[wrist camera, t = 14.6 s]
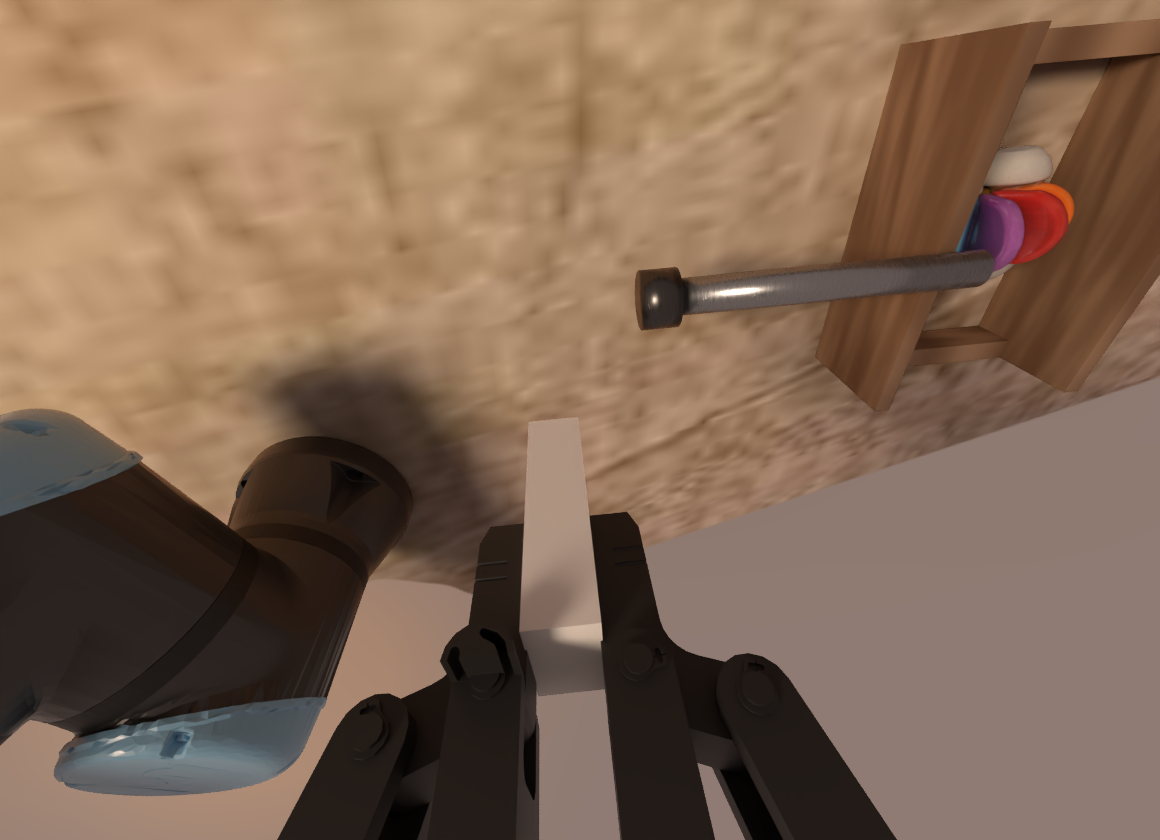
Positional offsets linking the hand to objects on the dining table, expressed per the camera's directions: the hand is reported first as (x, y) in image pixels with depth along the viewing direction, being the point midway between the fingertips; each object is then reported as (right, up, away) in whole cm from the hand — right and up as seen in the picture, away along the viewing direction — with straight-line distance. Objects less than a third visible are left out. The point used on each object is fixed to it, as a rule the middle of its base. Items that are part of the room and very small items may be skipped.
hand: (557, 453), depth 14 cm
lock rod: (+13, +10, +12) cm, 20 cm away
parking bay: (+28, +16, +18) cm, 37 cm away
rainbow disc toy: (+28, +16, +19) cm, 37 cm away
